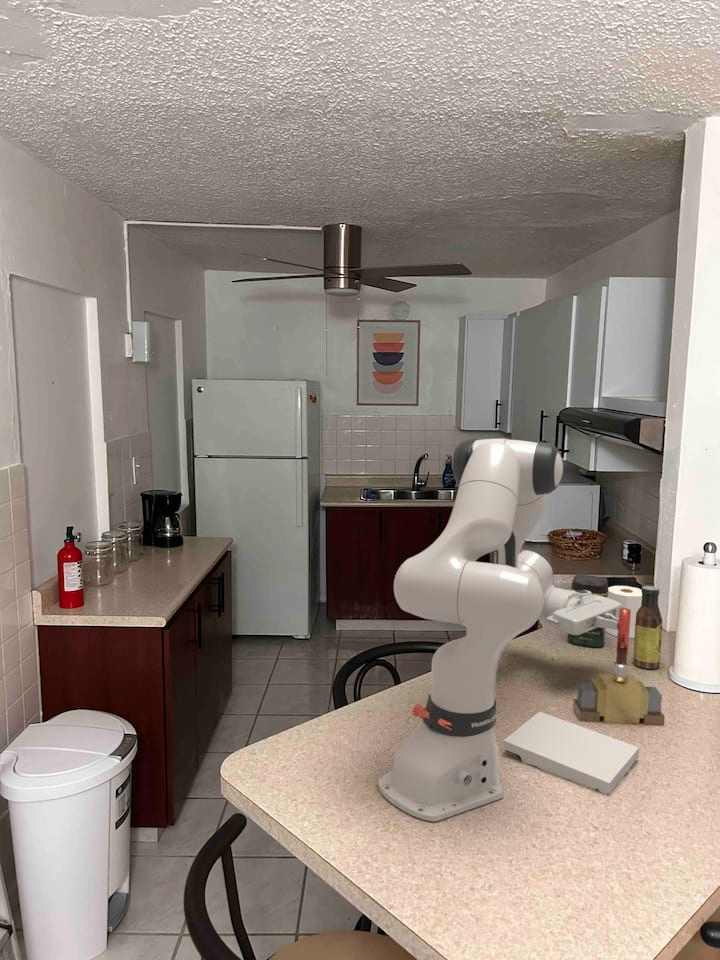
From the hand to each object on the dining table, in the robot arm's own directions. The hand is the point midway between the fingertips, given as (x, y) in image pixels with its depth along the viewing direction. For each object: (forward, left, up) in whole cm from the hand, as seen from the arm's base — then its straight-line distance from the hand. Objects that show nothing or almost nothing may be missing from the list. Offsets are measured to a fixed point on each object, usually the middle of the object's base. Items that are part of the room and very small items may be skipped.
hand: (620, 625), depth 158 cm
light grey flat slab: (-32, -9, -17) cm, 38 cm away
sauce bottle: (+21, +4, -16) cm, 27 cm away
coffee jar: (+23, +22, -16) cm, 35 cm away
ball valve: (-10, -6, -16) cm, 20 cm away
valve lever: (-5, -4, -8) cm, 10 cm away
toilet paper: (+39, +20, -16) cm, 46 cm away
